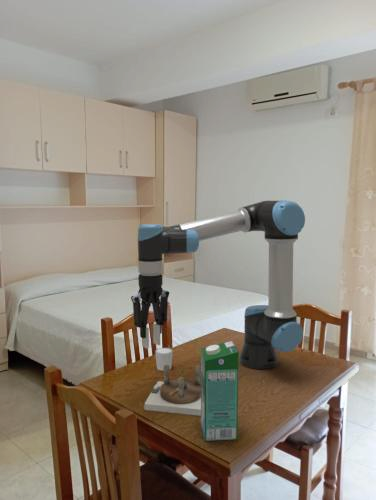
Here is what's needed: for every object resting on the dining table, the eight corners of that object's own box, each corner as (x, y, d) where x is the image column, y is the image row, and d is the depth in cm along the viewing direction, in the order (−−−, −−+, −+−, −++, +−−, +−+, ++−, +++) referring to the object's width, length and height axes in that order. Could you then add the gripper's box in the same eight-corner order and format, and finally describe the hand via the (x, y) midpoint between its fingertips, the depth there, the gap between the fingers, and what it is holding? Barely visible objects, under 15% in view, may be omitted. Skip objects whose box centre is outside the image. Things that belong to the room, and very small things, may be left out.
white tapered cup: (173, 364, 159) (173, 347, 158) (171, 371, 153) (171, 354, 152) (156, 364, 160) (156, 347, 159) (153, 371, 153) (153, 353, 152)
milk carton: (200, 423, 117) (201, 340, 114) (231, 421, 118) (232, 339, 115) (204, 441, 108) (205, 352, 105) (237, 439, 109) (238, 351, 106)
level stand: (214, 392, 136) (214, 381, 136) (208, 416, 121) (208, 404, 120) (158, 386, 140) (158, 376, 140) (144, 409, 125) (144, 398, 124)
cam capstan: (174, 380, 140) (174, 359, 139) (209, 389, 133) (209, 367, 132) (151, 396, 129) (151, 373, 128) (188, 407, 122) (188, 383, 121)
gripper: (164, 269, 134) (164, 336, 137) (120, 275, 123) (122, 348, 126) (178, 272, 128) (178, 342, 131) (134, 278, 117) (135, 355, 120)
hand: (151, 345), depth 128 cm, fingers open, 4 cm apart
